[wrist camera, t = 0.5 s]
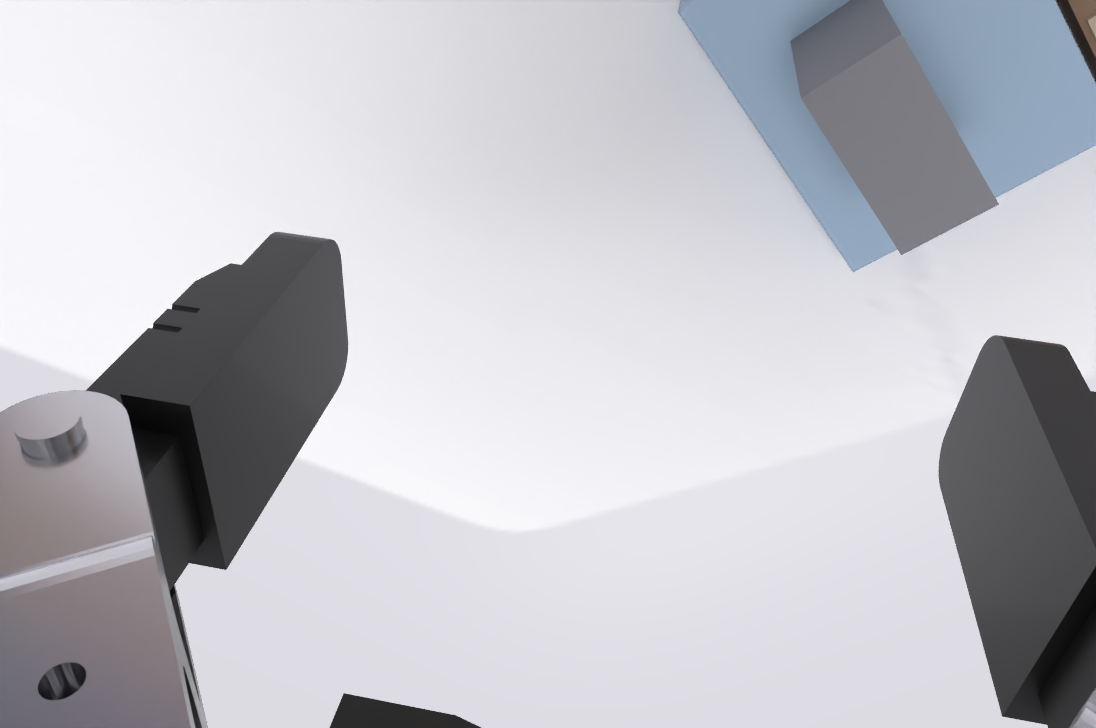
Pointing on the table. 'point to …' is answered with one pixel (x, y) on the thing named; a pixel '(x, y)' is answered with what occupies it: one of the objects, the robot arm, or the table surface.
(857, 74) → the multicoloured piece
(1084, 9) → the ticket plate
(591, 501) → the table surface
